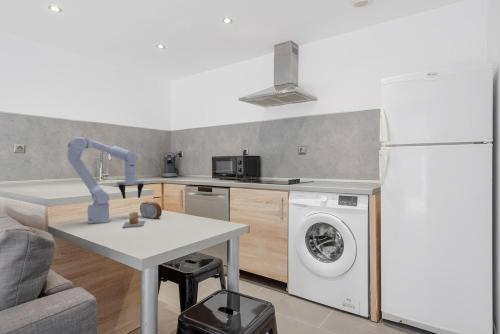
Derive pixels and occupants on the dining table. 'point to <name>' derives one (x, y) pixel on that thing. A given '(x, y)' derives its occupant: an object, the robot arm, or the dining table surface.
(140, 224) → the card
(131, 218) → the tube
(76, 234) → the dining table surface
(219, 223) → the dining table surface
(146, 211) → the tin
